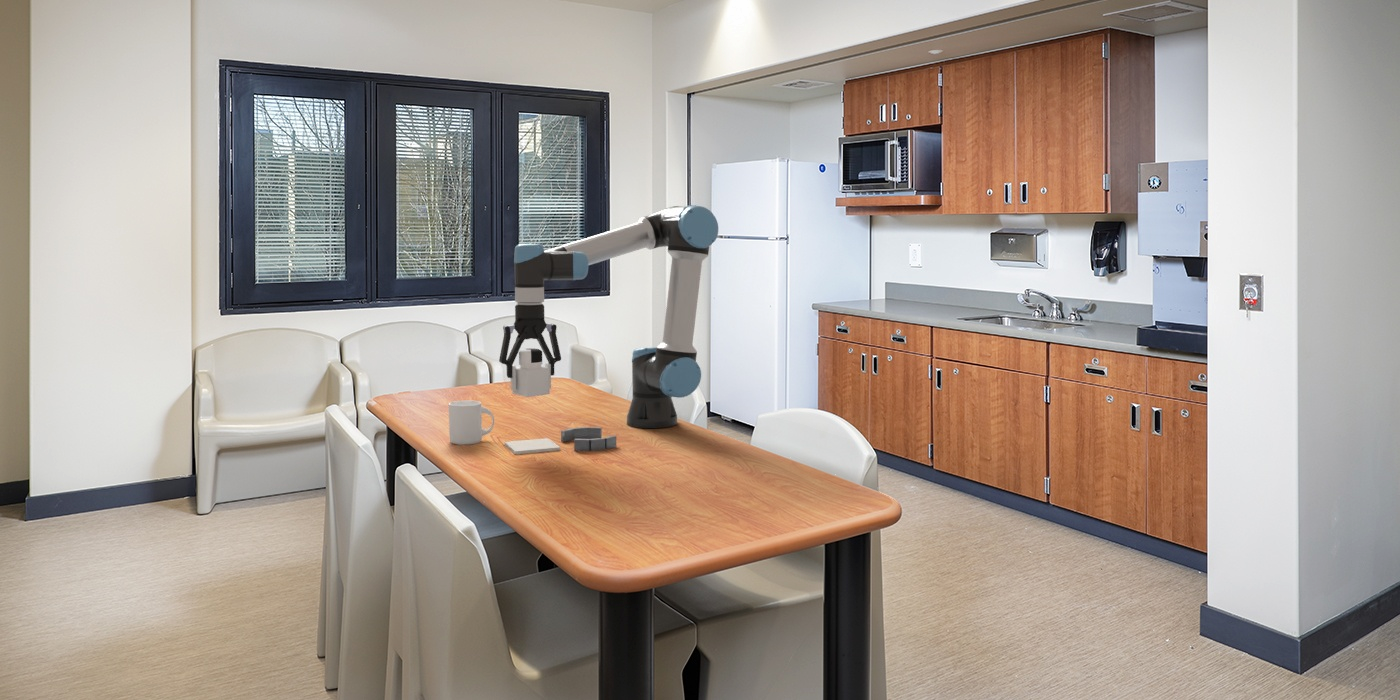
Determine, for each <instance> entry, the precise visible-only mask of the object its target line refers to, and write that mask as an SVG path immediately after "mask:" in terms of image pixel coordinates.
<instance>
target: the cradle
mask: <svg viewBox="0 0 1400 700" xmlns="http://www.w3.org/2000/svg"><path fill="white" fill-rule="evenodd" d="M602 430H603V429H602V426H582V427H572V428H566V429H563V430H562V429H561V430H560V441H561V442H562V443H567V442H570V441H573V447H574V449H573V451H574V452H594V451H595V452H596V451H598V452H599V451H606V450H611V449H613V448H617V435H609V436H605V437H603V436H602V435H603V434H602Z"/></svg>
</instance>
